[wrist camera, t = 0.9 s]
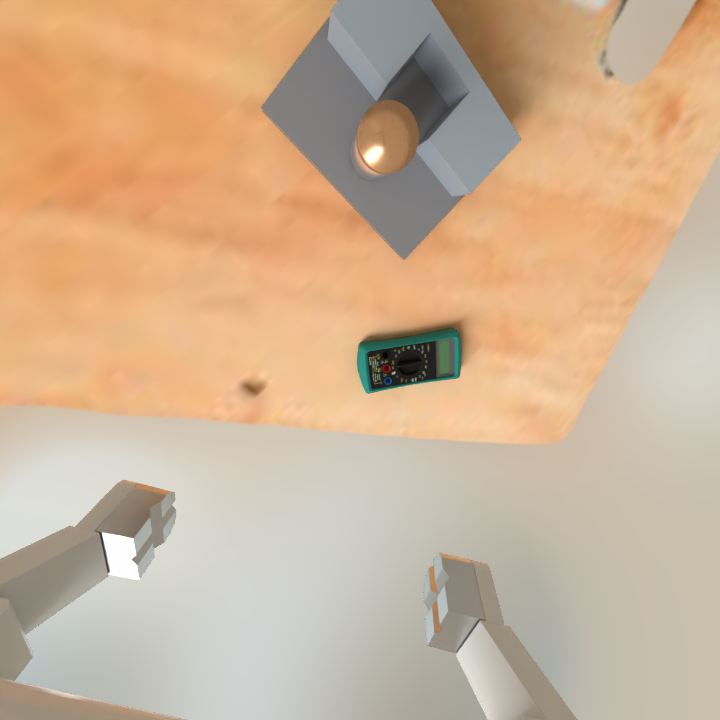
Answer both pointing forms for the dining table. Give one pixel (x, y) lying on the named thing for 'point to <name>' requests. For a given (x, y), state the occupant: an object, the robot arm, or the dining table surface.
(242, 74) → the dining table surface
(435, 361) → the digital multimeter
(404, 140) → the lidded glass jar
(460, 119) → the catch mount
